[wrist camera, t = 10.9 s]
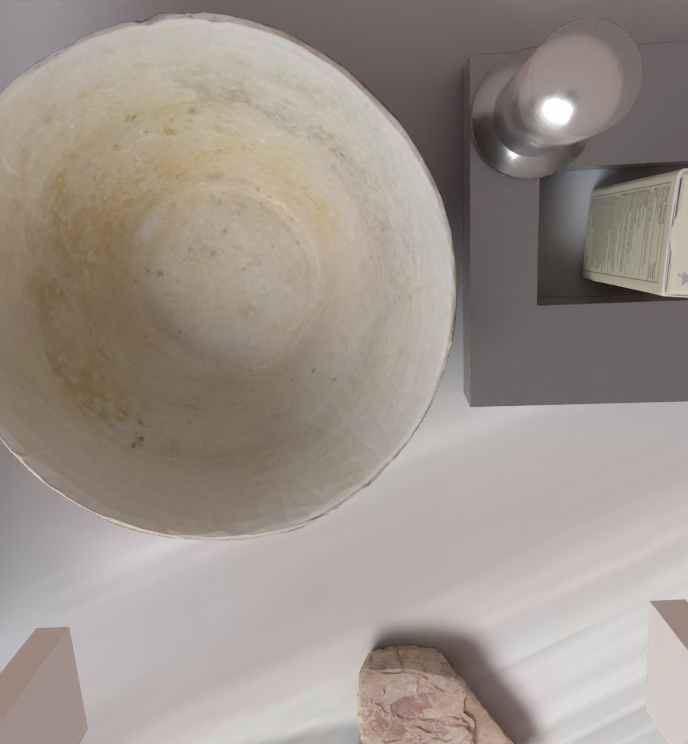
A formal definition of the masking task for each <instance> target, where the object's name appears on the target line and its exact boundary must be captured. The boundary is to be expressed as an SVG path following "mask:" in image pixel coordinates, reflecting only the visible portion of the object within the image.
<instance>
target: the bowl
mask: <svg viewBox="0 0 688 744" xmlns="http://www.w3.org/2000/svg"><path fill="white" fill-rule="evenodd" d="M456 303H457V269H456V258H455V249H454V242H453V239H452V232H451V226H450V223H449V219H448V216H447V213H446V209H445V205H444V202H443V199H442V196H441V194H440V192H439V189H438V187H437V184H436V182H435V180H434V177H433V175H432V173H431V172H430V170H429V169H428V167H427V165H426V163H425V161H424V159H423V157H422V155H421V153H420V151H419V149H418V148H417V146H416V145H415V143H414V141H413V140H412V138H411V137H410V136H409V134H408V133H407V131H406V130H405V128H404V127H403V126H402V124H401V123H400V121H399V120H398V118H397V117H396V116H395V115H394V114H393V113H392V112H391V111H390V110H389V109H388V108H387V107H386V106H385V105H384V104H383V103H382V102H381V101H380V100H379V99H378V98H377V97H376V96H375V95H374V94H373V93H372V92H371V91H370V90H369V89H368V88H367V87H366V86H365V85H364V84H363V83H362V82H361V81H360V80H359V79H357V78H356V77H355V76H354V75H353V74H352V73H351V72H349V71H348V70H347V69H346V68H345V67H343V66H342V65H340V64H339V63H338V62H336V61H335V60H333V59H332V58H330V57H329V56H328V55H326V54H324V53H322V52H321V51H319V50H317V49H315V48H314V47H312V46H310V45H309V44H307V43H305V42H304V41H302V40H300V39H299V38H297V37H295V36H293V35H290V34H288V33H285V32H283V31H281V30H278V29H276V28H273V27H271V26H269V25H265V24H262V23H258V22H255V21H251V20H247V19H243V18H239V17H234V16H230V15H222V14H214V13H208V12H202V11H201V12H200V13H198V14H197V13H186V14H169V13H159V14H157V15H155V16H153V17H152V18H150V19H148V20H145V21H142V22H141V21H133V22H123V23H119V24H116V25H113V26H110V27H107V28H104V29H101V30H98V31H96V32H93V33H91V34H88V35H86V36H84V37H81V38H79V39H78V40H77V41H76V42H75V43H72V44H70V45H68V46H66V47H64V48H62V49H60V50H58V51H56V52H55V53H53V54H51V55H49V56H47V57H46V58H44V59H42V60H41V61H39V62H37V63H36V64H34V65H33V66H32V67H30V68H29V69H27V70H26V71H24V72H23V73H21V74H20V75H18V76H17V77H16V78H15V79H14V80H13V81H12V82H11V83H10V84H9V85H8V86H7V87H6V88H5V89H4V91H3V92H2V93H1V94H0V439H1V441H2V442H3V443H4V444H5V446H6V447H7V448H8V449H9V451H10V452H11V453H12V454H13V455H14V456H15V457H16V458H17V459H18V460H20V461H21V462H22V463H23V464H24V465H25V466H26V468H27V469H28V470H29V471H30V472H31V473H32V474H33V475H34V476H35V477H37V478H38V479H39V480H41V481H42V482H43V483H44V484H46V485H47V486H48V487H50V488H51V489H53V490H54V491H56V492H57V493H59V494H61V495H62V496H64V497H65V498H67V499H68V500H70V501H72V502H73V503H75V504H77V505H79V506H81V507H82V508H84V509H86V510H88V511H89V512H91V513H93V514H95V515H97V516H99V517H101V518H103V519H105V520H107V521H109V522H111V523H114V524H116V525H119V526H122V527H125V528H129V529H132V530H135V531H139V532H144V533H149V534H154V535H159V536H164V537H169V538H179V539H196V540H241V539H252V538H256V537H261V536H266V535H272V534H277V533H281V532H289V531H292V530H295V529H298V528H302V527H304V526H306V525H308V524H310V523H312V522H313V521H315V520H316V519H317V518H319V517H321V516H323V515H327V514H328V513H329V512H330V511H331V510H334V509H336V508H338V507H339V506H340V505H341V504H342V503H343V502H344V501H346V500H348V499H349V498H351V497H352V496H353V495H354V494H355V493H357V492H359V491H360V490H362V489H363V488H365V487H367V486H369V485H370V484H371V483H372V482H373V481H374V480H375V479H376V478H377V477H378V476H379V475H380V474H381V472H382V471H383V470H384V469H385V468H386V467H387V466H388V464H389V463H390V462H391V461H392V460H393V459H395V458H396V457H397V456H398V454H399V453H400V452H401V450H402V449H403V448H404V447H405V445H406V444H407V443H408V441H409V440H410V438H411V437H412V436H413V434H414V433H415V431H416V430H417V429H418V427H419V425H420V424H421V422H422V420H423V419H424V417H425V415H426V413H427V411H428V409H429V407H430V405H431V403H432V401H433V399H434V397H435V394H436V392H437V389H438V386H439V383H440V381H441V378H442V376H443V374H444V371H445V367H446V363H447V359H448V356H449V352H450V349H451V345H452V340H453V333H454V326H455V319H456Z"/></svg>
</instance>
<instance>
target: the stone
mask: <svg viewBox="0 0 688 744" xmlns="http://www.w3.org/2000/svg"><path fill="white" fill-rule="evenodd" d="M357 698H358V709H359V712H358V717H357V720H358V724H359V728H360V736H361V739H360V740H361V743H360V744H514V743H513V742H512V740H511V739H510V738H509V737H508V736H507V735H506V734H505V732H504V731H503V730H502V729H501V727H500V726H499V725H498V724H497V723H496V721H495V720H494V719H493V718H492V717H491V716H490V714H489V712H488V711H487V710H486V708H485V707H484V706H483V704H482V703H481V702H480V701H479V699H478V698H477V697H476V696H475V694H474V693H473V692H472V691H471V689H470V688H469V686H468V685H467V683H466V682H465V681H464V679H463V678H462V677H461V676H460V675H459V674H458V673H457V672H456V671H455V670H454V668H453V667H452V665H450V664H449V662H448V661H447V660H446V659H445V657H444V656H443V655H442V654H441V653H440V651H439V650H438V649H437V648H432V647H429V648H423V647H421V646H420V647H419V646H418V645H407V646H404V645H401V646H397V647H395V646H389V647H386V648H384V649H377V650H375V651H371V652H370V653H369V654H368V656H367V658H366V660H365V662H364V664H363V666H362V668H361V670H360V674H359V692H358V695H357Z"/></svg>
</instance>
